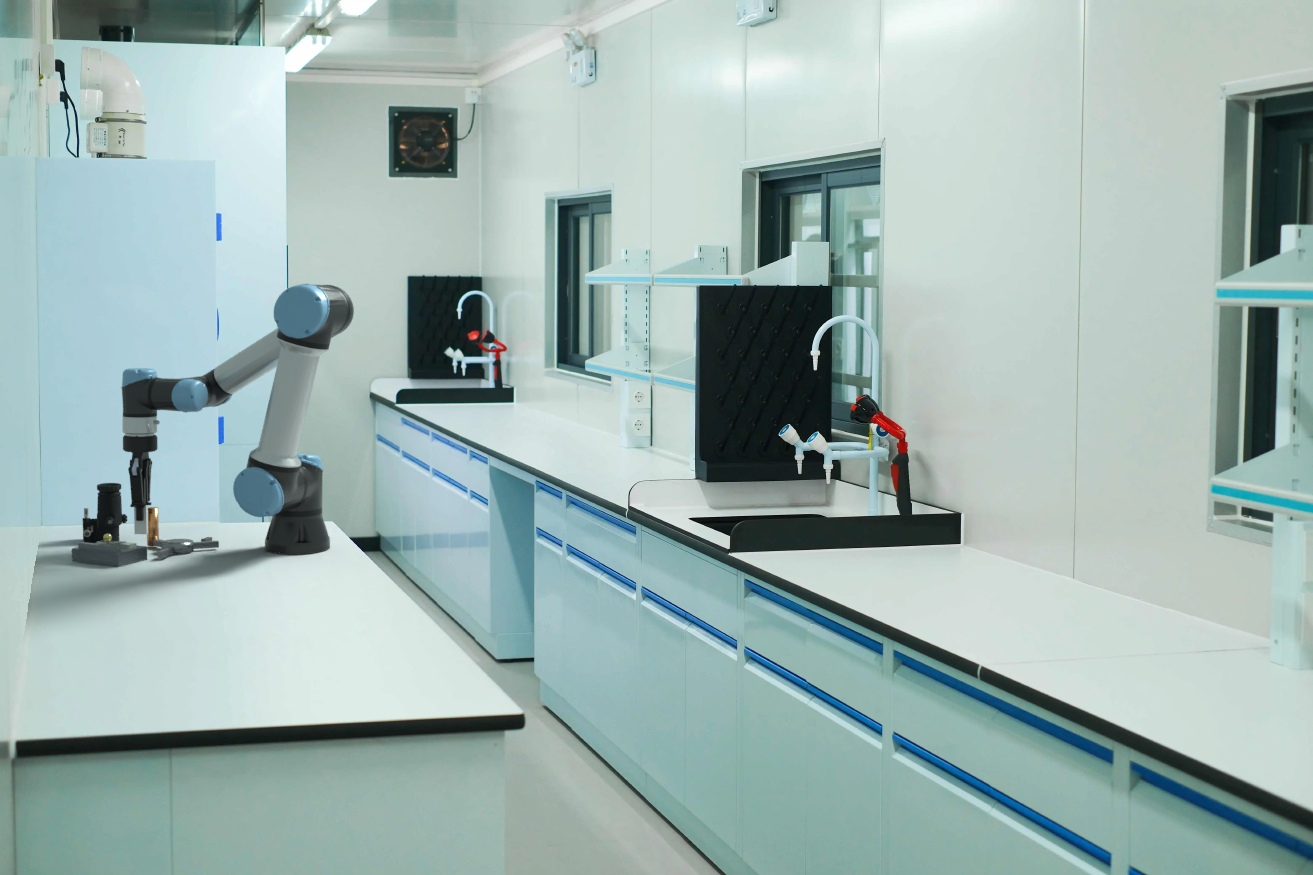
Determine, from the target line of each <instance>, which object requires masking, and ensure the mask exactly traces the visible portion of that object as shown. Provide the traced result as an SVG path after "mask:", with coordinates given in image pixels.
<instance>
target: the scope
mask: <svg viewBox="0 0 1313 875" xmlns="http://www.w3.org/2000/svg"><path fill="white" fill-rule="evenodd" d="M96 490H97V491H98V492H97V507H96V509H97V510H96V512H97V513H96V517H95V518H90V517H89V507H85V508H83V516H84V517H82V540H83V541H82V542H87V543H97V541H101V540H104V539H103V536H104V535H105V534H110V535H111V536H112V539H111V540H112V541H115V540H117V541H120V525H122V524H126V523H127V522H128V516H127V515H126V513H123V511H122V510H123V509H122V508H123V507H122V506H123V505H122V495H121V494H122V493H121V490H122V484H121V483H118V482H104V483H98V484H97V485H96Z"/></svg>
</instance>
